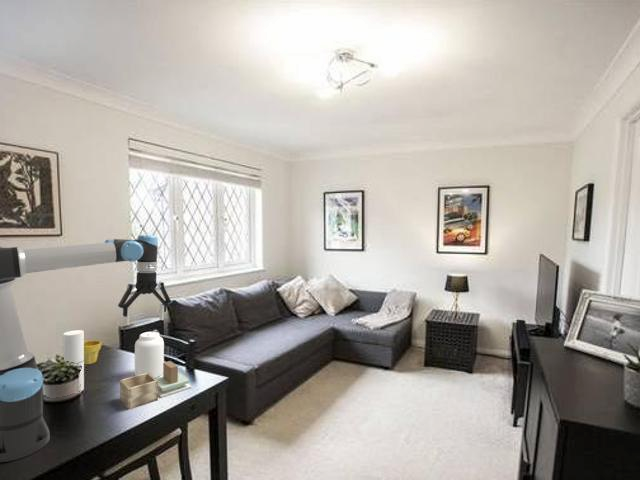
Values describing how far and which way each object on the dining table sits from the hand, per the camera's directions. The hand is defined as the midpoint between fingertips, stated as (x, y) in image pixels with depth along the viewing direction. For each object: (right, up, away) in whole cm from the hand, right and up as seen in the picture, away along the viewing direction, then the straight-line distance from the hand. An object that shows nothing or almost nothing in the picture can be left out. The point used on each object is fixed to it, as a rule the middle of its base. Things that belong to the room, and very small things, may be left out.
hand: (144, 321), depth 147 cm
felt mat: (+8, -31, +6) cm, 32 cm away
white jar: (-7, -30, +19) cm, 36 cm away
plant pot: (-46, -29, +33) cm, 63 cm away
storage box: (0, -31, -5) cm, 31 cm away
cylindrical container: (-31, -30, +2) cm, 44 cm away
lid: (+8, -30, +6) cm, 31 cm away
